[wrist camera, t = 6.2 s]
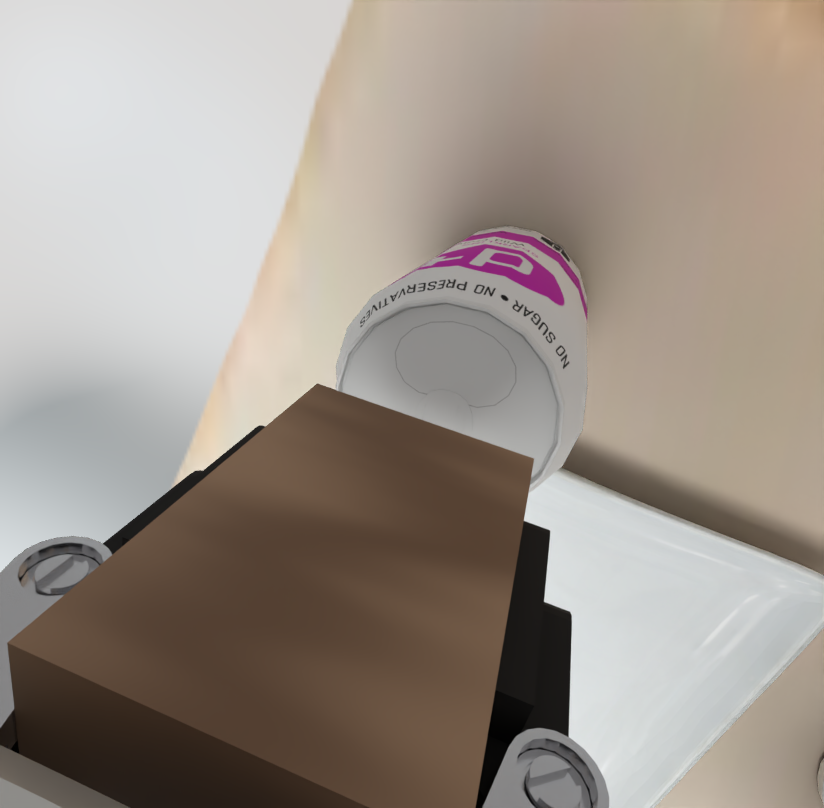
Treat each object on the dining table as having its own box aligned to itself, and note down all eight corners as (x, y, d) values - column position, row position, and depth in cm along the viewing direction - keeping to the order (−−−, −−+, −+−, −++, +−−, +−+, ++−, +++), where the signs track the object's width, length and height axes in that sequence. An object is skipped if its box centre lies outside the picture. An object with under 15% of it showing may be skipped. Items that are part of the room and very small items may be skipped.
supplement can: (445, 211, 30) (329, 250, 16) (607, 243, 28) (626, 315, 15) (419, 357, 33) (306, 489, 20) (563, 393, 32) (546, 561, 18)
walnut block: (533, 458, 11) (467, 852, 5) (469, 625, 13) (361, 1059, 7) (317, 383, 12) (6, 643, 5) (286, 553, 14) (34, 887, 7)
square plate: (602, 814, 43) (604, 870, 40) (280, 651, 46) (255, 690, 43) (835, 553, 31) (866, 602, 28) (378, 355, 34) (355, 377, 31)
